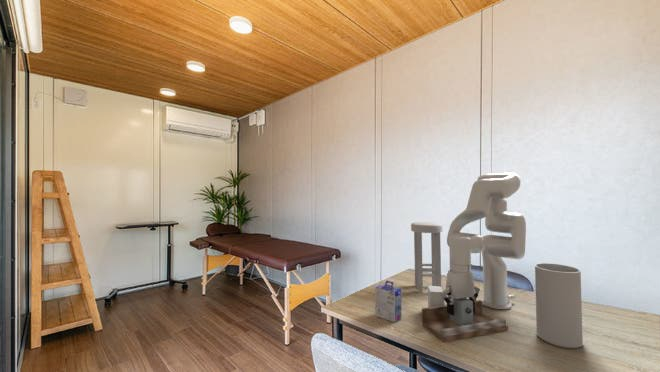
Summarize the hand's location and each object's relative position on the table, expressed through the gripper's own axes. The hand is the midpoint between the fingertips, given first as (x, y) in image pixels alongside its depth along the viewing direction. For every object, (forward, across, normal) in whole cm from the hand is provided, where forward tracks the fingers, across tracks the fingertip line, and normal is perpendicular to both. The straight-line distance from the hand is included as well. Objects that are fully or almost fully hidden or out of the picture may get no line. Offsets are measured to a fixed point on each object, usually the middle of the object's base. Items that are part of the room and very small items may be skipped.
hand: (461, 312), depth 110 cm
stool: (+6, -13, -40) cm, 42 cm away
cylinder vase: (+6, -25, +18) cm, 32 cm away
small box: (+6, +2, -13) cm, 14 cm away
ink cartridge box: (+6, +23, -16) cm, 28 cm away
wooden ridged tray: (+5, 0, +1) cm, 5 cm away
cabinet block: (+4, 0, 0) cm, 4 cm away
